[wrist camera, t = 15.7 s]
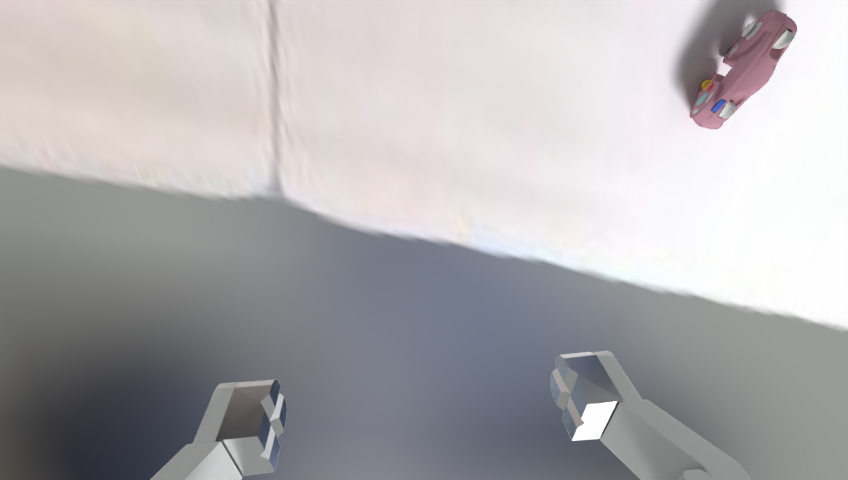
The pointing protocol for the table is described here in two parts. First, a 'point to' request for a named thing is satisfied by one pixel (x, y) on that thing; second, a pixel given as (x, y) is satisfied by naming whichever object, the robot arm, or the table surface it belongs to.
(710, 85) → the video game controller
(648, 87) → the table surface
